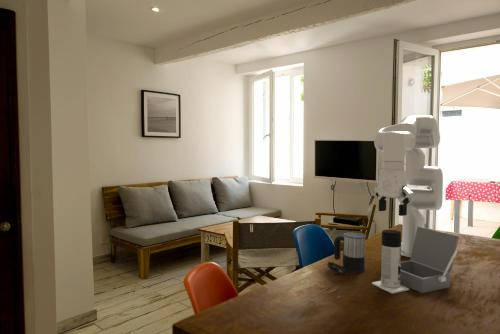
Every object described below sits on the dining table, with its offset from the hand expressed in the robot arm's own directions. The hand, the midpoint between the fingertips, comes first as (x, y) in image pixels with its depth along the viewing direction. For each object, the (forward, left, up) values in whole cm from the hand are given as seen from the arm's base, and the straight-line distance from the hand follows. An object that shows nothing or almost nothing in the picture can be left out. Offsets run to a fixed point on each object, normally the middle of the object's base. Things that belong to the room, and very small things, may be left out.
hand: (392, 213), depth 136 cm
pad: (0, 0, -27) cm, 27 cm away
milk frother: (-21, -3, -28) cm, 35 cm away
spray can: (0, 0, -27) cm, 27 cm away
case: (+1, +15, -27) cm, 31 cm away
